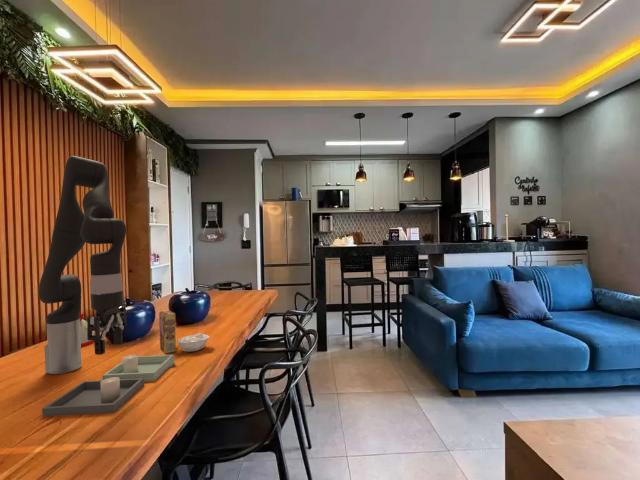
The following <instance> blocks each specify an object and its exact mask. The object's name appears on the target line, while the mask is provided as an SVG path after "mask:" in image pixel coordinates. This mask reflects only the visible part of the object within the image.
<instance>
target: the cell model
mask: <svg viewBox="0 0 640 480" xmlns="http://www.w3.org/2000/svg"><path fill="white" fill-rule="evenodd" d="M209 339H210V336H209V335H208V334H204V333H201V332H198V333H195V334H190V335H187V336H183V337H180V338H178V340H177V344H178V346H179V348H180V349H181V350H183V351H184V352H186V353H188V352H189V353H191V352H198V351H200V350H202V349H203V348H205V346H206V345H207V343H208V341H209Z"/></svg>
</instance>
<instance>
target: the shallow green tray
mask: <svg viewBox="0 0 640 480" xmlns="http://www.w3.org/2000/svg"><path fill="white" fill-rule="evenodd" d="M174 365H175V354H162V355H161V354H160V355H159V354H158V355H141V356H140V355H138V372H137V373H123V366H122V361H121V362H119V363H118V364H117V365H115V366H114V367H113V368H111V369H109V370H108V371H107V372H105V373H103V374H102V377H101V378H102V379H101V380H105V379H107V378H111V377H119V378H120V379H136V378H144V383H145V382H154V381H156V380H157V379H158V378H159V377H160V376H162V374H163V373H164V372H165V371H167V369H171V368H172V367H174Z"/></svg>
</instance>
